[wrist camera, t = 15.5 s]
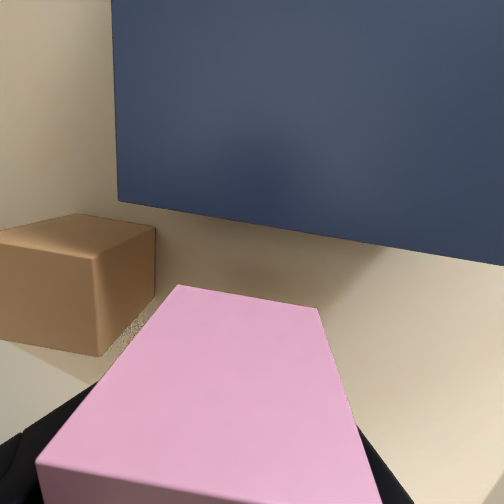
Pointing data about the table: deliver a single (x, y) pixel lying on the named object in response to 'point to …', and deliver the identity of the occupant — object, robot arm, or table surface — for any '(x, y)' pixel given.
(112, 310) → the kraft box
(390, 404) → the table surface
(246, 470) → the rose box
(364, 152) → the blue piece
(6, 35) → the table surface
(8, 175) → the table surface
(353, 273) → the table surface
